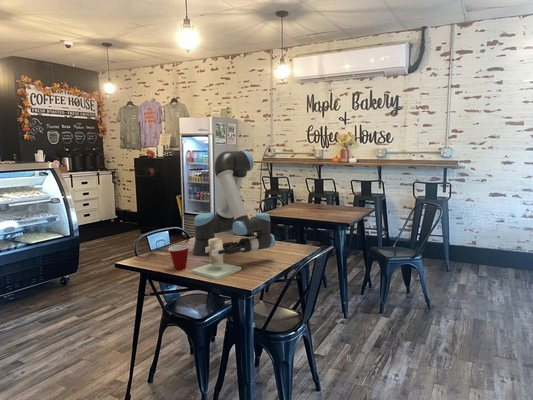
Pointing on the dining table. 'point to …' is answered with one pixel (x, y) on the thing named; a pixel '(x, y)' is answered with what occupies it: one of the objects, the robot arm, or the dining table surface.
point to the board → (216, 270)
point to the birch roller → (214, 245)
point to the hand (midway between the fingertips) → (208, 251)
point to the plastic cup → (179, 256)
